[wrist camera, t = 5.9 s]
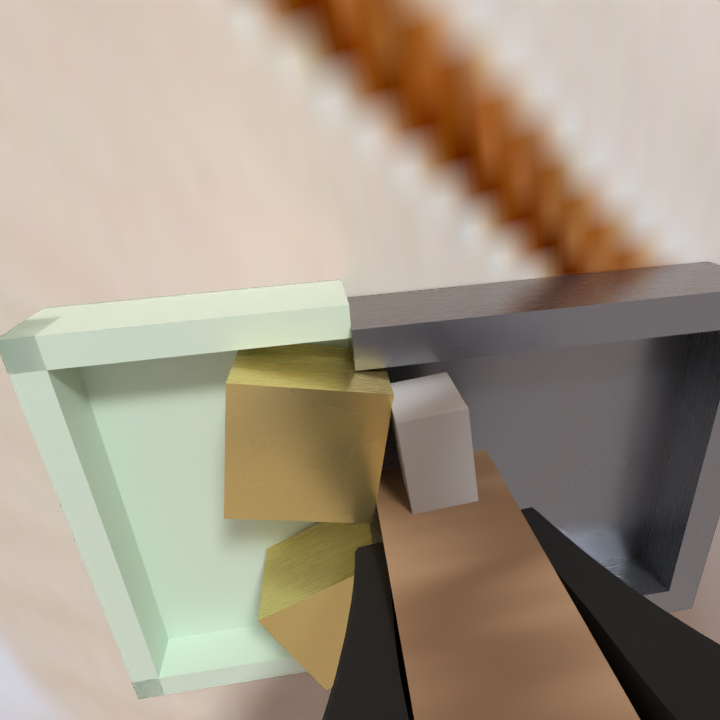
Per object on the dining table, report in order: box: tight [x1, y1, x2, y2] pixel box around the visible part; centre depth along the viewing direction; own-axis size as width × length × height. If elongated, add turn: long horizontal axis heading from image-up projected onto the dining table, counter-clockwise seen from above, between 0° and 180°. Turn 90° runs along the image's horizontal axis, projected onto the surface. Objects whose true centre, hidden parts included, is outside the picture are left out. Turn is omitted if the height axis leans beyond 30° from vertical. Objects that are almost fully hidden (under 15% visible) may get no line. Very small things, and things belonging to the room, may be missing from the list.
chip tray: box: [0, 280, 352, 699], centre depth 14 cm, size 8×12×2 cm, turn 4°
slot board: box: [347, 262, 720, 612], centre depth 15 cm, size 10×11×2 cm
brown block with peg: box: [376, 372, 640, 720], centre depth 10 cm, size 3×8×7 cm, turn 11°
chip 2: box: [258, 513, 383, 690], centre depth 14 cm, size 4×4×2 cm
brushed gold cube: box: [224, 344, 394, 524], centre depth 12 cm, size 4×4×2 cm
